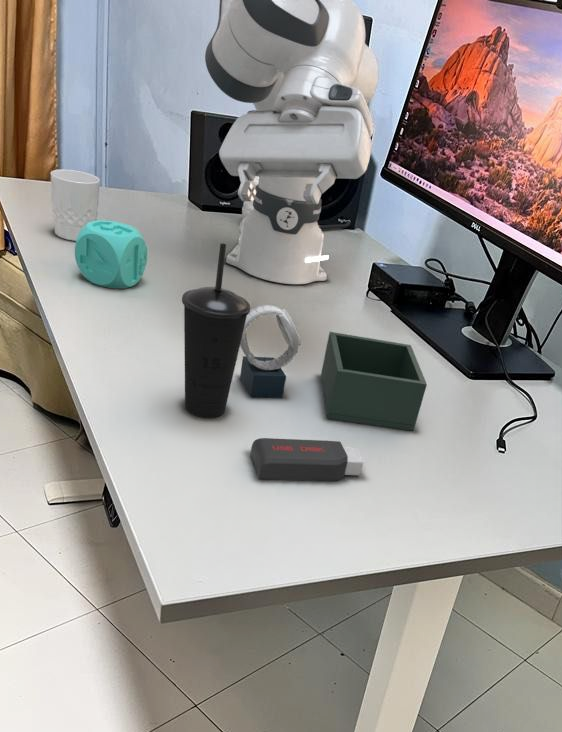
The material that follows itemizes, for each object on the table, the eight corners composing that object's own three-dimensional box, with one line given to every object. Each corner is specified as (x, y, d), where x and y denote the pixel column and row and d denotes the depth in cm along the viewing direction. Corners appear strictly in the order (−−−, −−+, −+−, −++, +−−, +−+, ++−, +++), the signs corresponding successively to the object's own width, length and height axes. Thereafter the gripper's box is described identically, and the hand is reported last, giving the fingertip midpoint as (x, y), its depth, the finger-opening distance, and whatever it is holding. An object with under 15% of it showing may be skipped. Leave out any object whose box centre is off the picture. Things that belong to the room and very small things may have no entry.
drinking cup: (166, 393, 94) (180, 229, 83) (226, 393, 98) (247, 236, 87) (180, 424, 89) (196, 253, 78) (243, 423, 92) (267, 259, 81)
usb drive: (250, 454, 87) (253, 432, 85) (349, 457, 91) (354, 437, 89) (258, 479, 83) (261, 457, 81) (361, 481, 87) (367, 461, 85)
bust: (244, 227, 170) (219, 182, 161) (272, 208, 170) (248, 162, 162) (264, 246, 161) (239, 199, 153) (293, 226, 162) (270, 178, 154)
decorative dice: (118, 292, 118) (120, 240, 113) (73, 277, 119) (74, 225, 115) (146, 281, 124) (149, 231, 120) (103, 266, 126) (105, 217, 121)
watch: (296, 398, 101) (311, 319, 95) (237, 396, 98) (248, 315, 92) (284, 378, 105) (297, 301, 99) (227, 376, 102) (237, 297, 96)
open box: (320, 376, 108) (329, 331, 104) (399, 388, 110) (410, 344, 107) (327, 418, 98) (337, 370, 94) (413, 431, 100) (427, 384, 96)
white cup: (63, 225, 139) (63, 166, 133) (105, 235, 139) (107, 178, 133) (42, 234, 132) (42, 174, 126) (87, 246, 132) (88, 185, 126)
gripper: (230, 93, 101) (196, 180, 98) (372, 89, 94) (341, 183, 90) (249, 129, 107) (218, 212, 103) (385, 129, 99) (356, 219, 96)
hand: (276, 199), depth 97 cm, fingers open, 8 cm apart
